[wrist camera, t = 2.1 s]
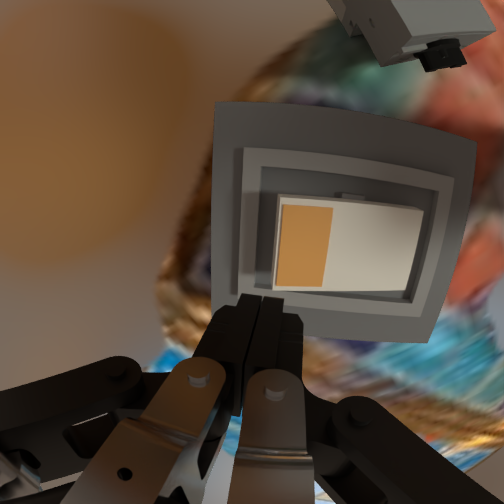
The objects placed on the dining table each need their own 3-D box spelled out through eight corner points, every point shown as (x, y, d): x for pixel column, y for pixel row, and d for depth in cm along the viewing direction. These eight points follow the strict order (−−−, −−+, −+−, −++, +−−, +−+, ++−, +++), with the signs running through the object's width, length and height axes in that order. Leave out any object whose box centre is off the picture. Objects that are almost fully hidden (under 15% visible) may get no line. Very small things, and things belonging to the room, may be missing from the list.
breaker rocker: (414, 206, 18) (424, 211, 17) (398, 282, 20) (405, 291, 19) (277, 193, 17) (280, 197, 16) (270, 281, 20) (272, 291, 18)
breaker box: (445, 140, 21) (482, 142, 15) (410, 310, 27) (429, 348, 21) (234, 111, 24) (211, 100, 17) (228, 290, 30) (209, 327, 24)
